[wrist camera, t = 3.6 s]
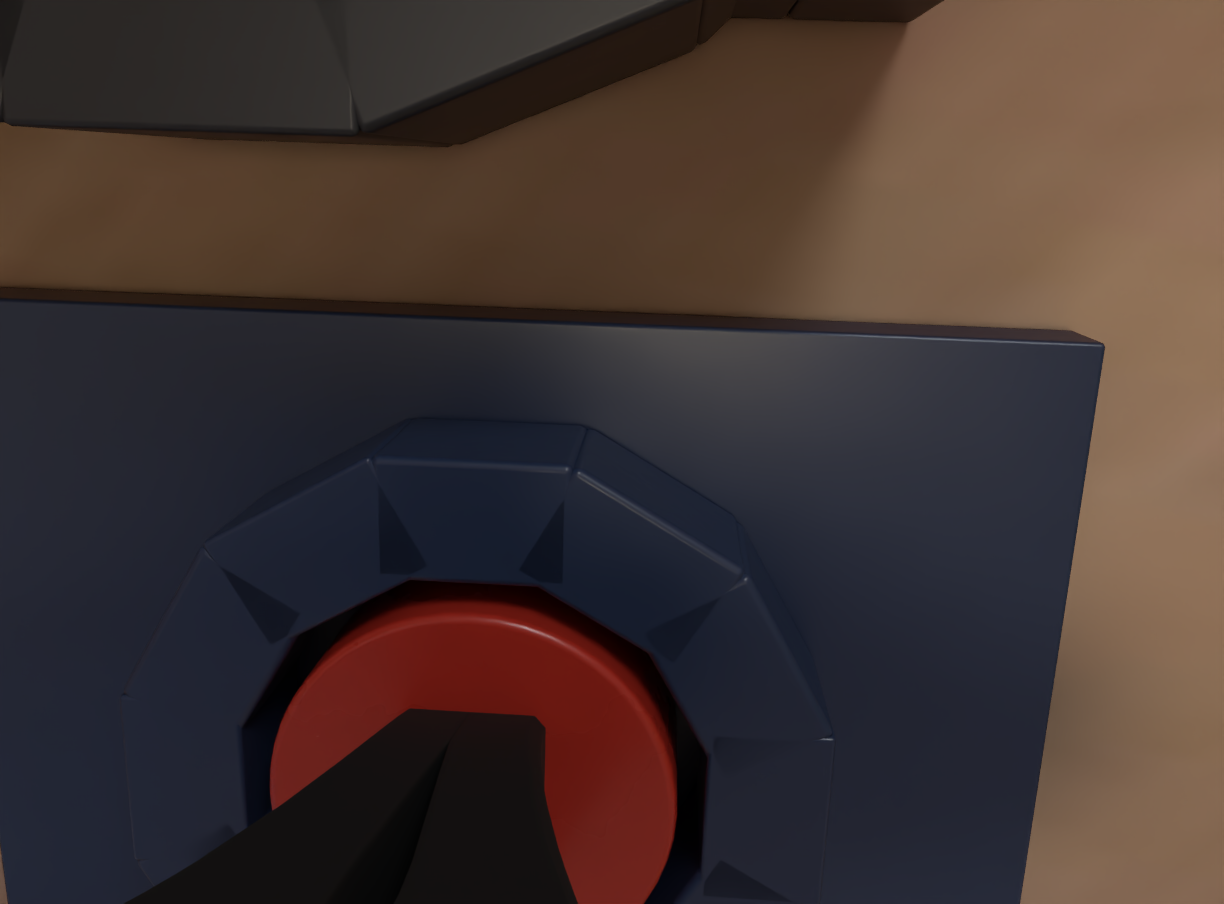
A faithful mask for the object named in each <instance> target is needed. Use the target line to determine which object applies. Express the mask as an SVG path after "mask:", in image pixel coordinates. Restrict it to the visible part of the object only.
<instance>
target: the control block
mask: <svg viewBox="0 0 1224 904" xmlns="http://www.w3.org/2000/svg"><path fill="white" fill-rule="evenodd" d="M1104 350H1105V346H1104V344H1103V343H1101V342H1098V341H1096V340H1093V339H1091V338H1088V337H1086V336H1083V335H1081V334H1078V333H1076V332H1073V331H1066V330H1041V329H1016V328H991V327H967V326H942V325H917V324H892V323H867V322H843V321H818V320H793V319H768V318H744V317H719V316H694V315H669V314H644V313H620V312H595V311H570V310H545V309H520V308H496V307H471V306H446V305H421V304H396V303H372V302H347V301H322V300H297V299H272V298H248V297H223V296H198V295H173V294H148V293H124V292H99V291H74V290H49V289H24V288H0V846H1V854H2V862H3V869H4V877H5V884H6V892H7V899H8V904H123V903H125V902H127V901H129V900H131V899H133V898H135V897H136V896H138V895H140V894H142V893H144V892H146V891H147V890H149V889H151V888H152V887H154V886H156V885H158V884H159V883H161V882H163V881H164V880H166V879H168V878H170V877H171V876H173V875H175V874H176V873H178V872H180V871H181V870H183V869H185V868H186V867H188V866H189V865H191V864H193V863H194V862H196V861H198V860H199V859H201V858H202V857H204V856H205V855H207V854H208V853H210V852H211V851H213V850H214V849H216V848H217V847H219V846H220V845H222V844H223V843H225V842H226V841H228V840H229V839H231V838H232V837H234V836H235V835H237V834H238V833H240V832H241V831H243V830H244V829H246V828H247V827H249V826H250V825H252V824H253V823H255V822H256V821H258V820H259V819H261V818H262V817H263V816H265V815H266V814H268V813H269V812H271V811H272V805H271V797H270V763H271V757H272V751H273V745H274V741H275V737H276V734H277V731H278V728H279V725H280V722H281V719H282V717H283V715H284V713H285V711H286V709H287V707H288V705H289V703H290V701H291V699H292V698H293V696H294V695H295V693H296V692H297V691H298V689H299V688H300V686H301V685H302V683H303V682H304V681H305V679H306V678H307V676H308V675H309V674H310V672H311V671H312V670H313V668H314V667H315V666H316V664H317V663H318V661H319V660H320V659H321V657H322V656H323V655H324V653H325V652H326V651H327V649H328V648H329V646H330V645H331V644H332V642H333V641H334V640H335V638H336V637H337V636H338V634H339V633H340V631H341V630H342V629H343V627H344V626H345V625H346V623H347V622H348V621H349V619H350V618H351V617H352V616H353V615H354V614H355V613H356V612H357V611H358V610H359V609H360V608H361V607H362V606H363V605H364V604H365V603H366V602H367V601H369V600H371V599H373V598H375V597H377V596H379V595H381V594H383V593H385V592H387V591H389V590H391V589H393V588H395V587H397V586H399V585H401V584H403V583H405V582H407V581H409V580H418V581H437V582H455V583H474V584H493V585H512V586H530V587H538V588H540V589H542V590H543V591H545V592H547V593H548V594H550V595H552V596H553V597H555V598H557V599H558V600H560V601H562V602H563V603H565V604H567V605H568V606H570V607H572V608H573V609H575V610H577V611H578V612H580V613H582V614H583V615H585V616H587V617H588V618H590V619H592V620H593V621H595V622H597V623H598V624H600V625H602V626H603V627H605V628H607V629H608V630H610V631H612V632H613V633H615V634H617V635H618V636H620V637H622V638H623V639H625V640H627V641H628V642H630V643H632V644H633V645H635V646H637V647H638V648H640V649H642V650H643V651H645V652H647V653H648V654H649V656H650V658H651V659H652V661H653V663H654V665H655V666H656V668H657V670H658V672H659V674H660V675H661V677H662V679H663V681H664V682H665V684H666V686H667V688H668V690H669V691H670V693H671V695H672V697H673V700H674V706H675V712H676V719H677V820H676V828H675V835H674V841H673V844H672V848H671V851H670V855H669V858H668V861H667V864H666V866H665V868H664V870H663V872H662V874H661V877H660V879H659V881H658V883H657V885H656V886H655V888H654V889H653V891H652V892H651V894H650V895H649V897H648V898H647V900H646V902H645V903H644V904H1020V900H1021V893H1022V887H1023V880H1024V873H1025V867H1026V860H1027V854H1028V847H1029V841H1030V834H1031V828H1032V821H1033V815H1034V808H1035V801H1036V795H1037V788H1038V782H1039V775H1040V769H1041V762H1042V756H1043V749H1044V743H1045V736H1046V729H1047V723H1048V716H1049V710H1050V703H1051V697H1052V690H1053V684H1054V677H1055V671H1056V664H1057V658H1058V651H1059V644H1060V638H1061V631H1062V625H1063V618H1064V612H1065V605H1066V599H1067V592H1068V586H1069V579H1070V572H1071V566H1072V559H1073V553H1074V546H1075V540H1076V533H1077V527H1078V520H1079V514H1080V507H1081V500H1082V494H1083V487H1084V481H1085V474H1086V468H1087V461H1088V455H1089V448H1090V442H1091V435H1092V428H1093V422H1094V415H1095V409H1096V402H1097V396H1098V389H1099V383H1100V376H1101V370H1102V363H1103V356H1104Z"/></svg>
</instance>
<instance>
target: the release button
mask: <svg viewBox="0 0 1224 904" xmlns="http://www.w3.org/2000/svg"><path fill="white" fill-rule="evenodd" d="M409 708H412V709H429V710H445V711H462V712H479V713H496V714H514V715H530V716H535V717H536V718H537V719H538V720H539V721H540V722H541V723H542V724H543V725H544V727H545V728H546V735H545V790H544V791H545V796H546V801H547V806H548V810H549V814H550V817H551V821H552V825H553V829H554V833H555V837H556V841H557V844H558V848H559V851H560V854H561V857H562V860H563V863H564V866H565V869H566V872H567V875H568V877H569V880H570V883H571V886H572V888H573V891H574V894H575V896H576V899H577V902H578V904H644V903H645V902H646V900H647V898H648V897H649V895H650V894H651V892H652V891H653V889H654V888H655V886H656V885H657V883H658V881H659V879H660V877H661V874H662V872H663V870H664V868H665V866H666V864H667V861H668V858H669V855H670V851H671V848H672V844H673V841H674V835H675V828H676V820H677V719H676V712H675V706H674V700H673V697H672V695H671V693H670V691H669V690H668V688H667V686H666V684H665V682H664V681H663V679H662V677H661V675H660V674H659V672H658V670H657V668H656V666H655V665H654V663H653V661H652V659H651V658H650V656H649V654H648V653H647V652H645V651H643V650H642V649H640V648H638V647H637V646H635V645H633V644H632V643H630V642H628V641H627V640H625V639H623V638H622V637H620V636H618V635H617V634H615V633H613V632H612V631H610V630H608V629H607V628H605V627H603V626H602V625H600V624H598V623H597V622H595V621H593V620H592V619H590V618H588V617H587V616H585V615H583V614H582V613H580V612H578V611H577V610H575V609H573V608H572V607H570V606H568V605H567V604H565V603H563V602H562V601H560V600H558V599H557V598H555V597H553V596H552V595H550V594H548V593H547V592H545V591H543V590H542V589H540V588H538V587H530V586H512V585H493V584H474V583H455V582H437V581H418V580H409V581H407V582H405V583H403V584H401V585H399V586H397V587H395V588H393V589H391V590H389V591H387V592H385V593H383V594H381V595H379V596H377V597H375V598H373V599H371V600H369V601H367V602H366V603H365V604H364V605H363V606H362V607H361V608H360V609H359V610H358V611H357V612H356V613H355V614H354V615H353V616H352V617H351V618H350V619H349V621H348V622H347V623H346V625H345V626H344V627H343V629H342V630H341V631H340V633H339V634H338V636H337V637H336V638H335V640H334V641H333V642H332V644H331V645H330V646H329V648H328V649H327V651H326V652H325V653H324V655H323V656H322V657H321V659H320V660H319V661H318V663H317V664H316V666H315V667H314V668H313V670H312V671H311V672H310V674H309V675H308V676H307V678H306V679H305V681H304V682H303V683H302V685H301V686H300V688H299V689H298V691H297V692H296V693H295V695H294V696H293V698H292V699H291V701H290V703H289V705H288V707H287V709H286V711H285V713H284V715H283V717H282V719H281V722H280V725H279V728H278V731H277V734H276V737H275V741H274V745H273V751H272V757H271V763H270V797H271V805H272V810H274V809H275V808H277V807H278V806H280V805H281V804H283V803H284V802H286V801H287V800H288V799H290V798H291V797H292V796H294V795H295V794H296V793H298V792H299V791H300V790H302V789H303V788H304V787H306V786H307V785H308V784H310V783H311V782H312V781H314V780H315V779H316V778H318V777H319V776H320V775H322V774H323V773H324V772H326V771H327V770H329V769H330V768H331V767H333V766H334V765H335V764H337V763H338V762H339V761H341V760H342V759H343V758H344V757H346V756H347V755H348V754H350V753H351V752H352V751H353V750H355V749H356V748H357V747H359V746H360V745H361V744H362V743H364V742H365V741H366V740H368V739H369V738H370V737H371V736H373V735H374V734H375V733H377V732H378V731H379V730H381V729H382V728H383V727H384V726H386V725H387V724H388V723H390V722H391V721H392V720H394V719H395V718H396V717H398V716H399V715H400V714H402V713H403V712H405V711H406V710H408V709H409Z"/></svg>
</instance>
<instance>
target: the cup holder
mask: <svg viewBox="0 0 1224 904" xmlns="http://www.w3.org/2000/svg"><path fill="white" fill-rule="evenodd" d="M942 1H944V0H0V122H5V123H7V124H9V125H12V126H21V127H36V128H50V129H65V130H80V131H94V132H109V133H123V134H138V135H153V136H167V137H182V138H196V139H218V140H248V141H278V142H309V143H339V144H369V145H400V146H430V147H449V146H452V144H462V143H465V142H467V141H470V140H472V139H475V138H477V137H480V136H482V135H485V134H487V133H490V132H492V131H495V130H497V129H499V128H502V127H504V126H507V125H509V124H512V123H514V122H517V121H519V120H522V119H524V118H527V117H529V116H532V115H534V114H537V113H539V112H542V111H544V110H547V109H549V108H552V107H554V106H557V105H559V104H562V103H564V102H567V101H569V100H571V99H574V98H576V97H579V96H581V95H584V94H586V93H589V92H591V91H594V90H596V89H599V88H601V87H604V86H606V85H609V84H611V83H614V82H616V81H619V80H621V79H624V78H626V77H629V76H631V75H634V74H636V73H639V72H641V71H643V70H646V69H648V68H651V67H653V66H656V65H658V64H661V63H663V62H666V61H668V60H671V59H673V58H676V57H678V56H681V55H683V54H686V53H688V52H691V51H692V50H693V49H694V48H695V47H696V44H697V43H698V44H702V43H704V42H706V41H707V40H708V39H709V38H710V37H711V36H712V35H713V34H714V33H715V32H716V31H717V30H718V29H719V28H720V27H721V26H722V25H723V24H724V23H725V22H726V21H727V20H728V19H729V18H730V17H740V18H777V19H780V18H783V17H785V16H786V15H787V13H789V17H791V18H793V19H814V20H852V21H890V22H909V21H912V20H914V19H916V18H917V17H919V16H920V15H922V14H923V13H925V12H927V11H928V10H930V9H931V8H933V7H934V6H936V5H937V4H939V3H941V2H942Z"/></svg>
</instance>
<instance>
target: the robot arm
mask: <svg viewBox="0 0 1224 904" xmlns="http://www.w3.org/2000/svg"><path fill="white" fill-rule="evenodd" d="M545 735H546V728H545V727H544V725H543V724H542V723H541V722H540V721H539V720H538V719H537V718H536V717H535V716H530V715H514V714H496V713H479V712H462V711H445V710H429V709H412V708H409V709H408V710H406V711H405V712H403V713H402V714H400V715H399V716H398V717H396V718H395V719H394V720H392V721H391V722H390V723H388V724H387V725H386V726H384V727H383V728H382V729H381V730H379V731H378V732H377V733H375V734H374V735H373V736H371V737H370V738H369V739H368V740H366V741H365V742H364V743H362V744H361V745H360V746H359V747H357V748H356V749H355V750H353V751H352V752H351V753H350V754H348V755H347V756H346V757H344V758H343V759H342V760H341V761H339V762H338V763H337V764H335V765H334V766H333V767H331V768H330V769H329V770H327V771H326V772H324V773H323V774H322V775H320V776H319V777H318V778H316V779H315V780H314V781H312V782H311V783H310V784H308V785H307V786H306V787H304V788H303V789H302V790H300V791H299V792H298V793H296V794H295V795H294V796H292V797H291V798H290V799H288V800H287V801H286V802H284V803H283V804H281V805H280V806H278V807H277V808H275V809H274V810H272V811H271V812H269V813H268V814H266V815H265V816H263V817H262V818H261V819H259V820H258V821H256V822H255V823H253V824H252V825H250V826H249V827H247V828H246V829H244V830H243V831H241V832H240V833H238V834H237V835H235V836H234V837H232V838H231V839H229V840H228V841H226V842H225V843H223V844H222V845H220V846H219V847H217V848H216V849H214V850H213V851H211V852H210V853H208V854H207V855H205V856H204V857H202V858H201V859H199V860H198V861H196V862H194V863H193V864H191V865H189V866H188V867H186V868H185V869H183V870H181V871H180V872H178V873H176V874H175V875H173V876H171V877H170V878H168V879H166V880H164V881H163V882H161V883H159V884H158V885H156V886H154V887H152V888H151V889H149V890H147V891H146V892H144V893H142V894H140V895H138V896H136V897H135V898H133V899H131V900H129V901H127V902H125V903H123V904H578V902H577V899H576V896H575V894H574V891H573V888H572V886H571V883H570V880H569V877H568V875H567V872H566V869H565V866H564V863H563V860H562V857H561V854H560V851H559V848H558V844H557V841H556V837H555V833H554V829H553V825H552V821H551V817H550V814H549V810H548V806H547V801H546V796H545V791H544V790H545Z"/></svg>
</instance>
